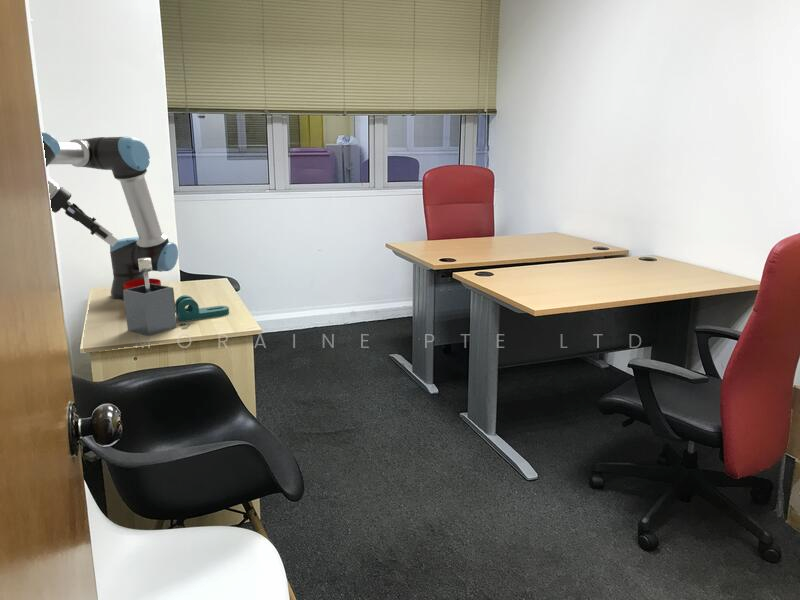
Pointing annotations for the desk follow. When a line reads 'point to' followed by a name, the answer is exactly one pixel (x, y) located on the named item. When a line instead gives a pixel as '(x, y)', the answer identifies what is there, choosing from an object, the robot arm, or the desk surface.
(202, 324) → the desk surface
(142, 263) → the plunger
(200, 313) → the bracket
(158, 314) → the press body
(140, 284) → the ceramic cup
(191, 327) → the desk surface
